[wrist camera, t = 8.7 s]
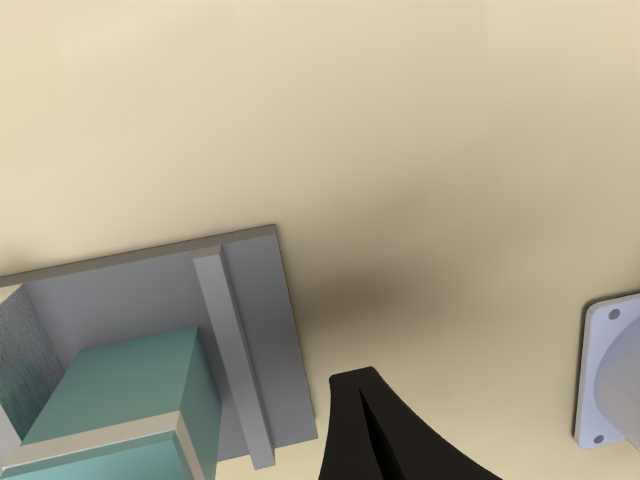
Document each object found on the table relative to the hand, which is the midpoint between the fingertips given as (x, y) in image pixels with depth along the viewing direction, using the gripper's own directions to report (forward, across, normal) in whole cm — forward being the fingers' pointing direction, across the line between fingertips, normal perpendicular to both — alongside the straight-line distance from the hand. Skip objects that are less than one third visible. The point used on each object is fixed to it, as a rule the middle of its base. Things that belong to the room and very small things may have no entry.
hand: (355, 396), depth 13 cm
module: (+3, +7, 0) cm, 7 cm away
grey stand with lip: (+4, +6, 0) cm, 8 cm away
